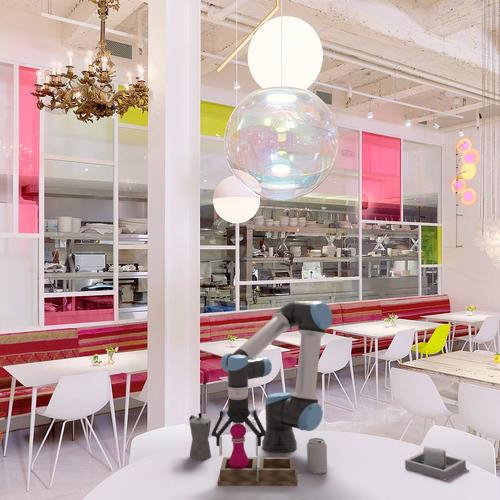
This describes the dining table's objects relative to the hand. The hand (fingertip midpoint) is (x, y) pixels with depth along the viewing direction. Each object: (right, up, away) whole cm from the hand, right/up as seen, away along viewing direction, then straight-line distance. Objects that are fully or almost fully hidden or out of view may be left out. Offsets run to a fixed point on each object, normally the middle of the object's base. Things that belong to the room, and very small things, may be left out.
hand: (238, 454), depth 197 cm
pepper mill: (0, -7, 0) cm, 7 cm away
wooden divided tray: (+7, -9, -1) cm, 11 cm away
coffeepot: (-17, -10, +24) cm, 32 cm away
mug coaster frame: (+76, -8, +7) cm, 77 cm away
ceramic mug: (+76, -8, +9) cm, 77 cm away
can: (+30, -9, +5) cm, 32 cm away
